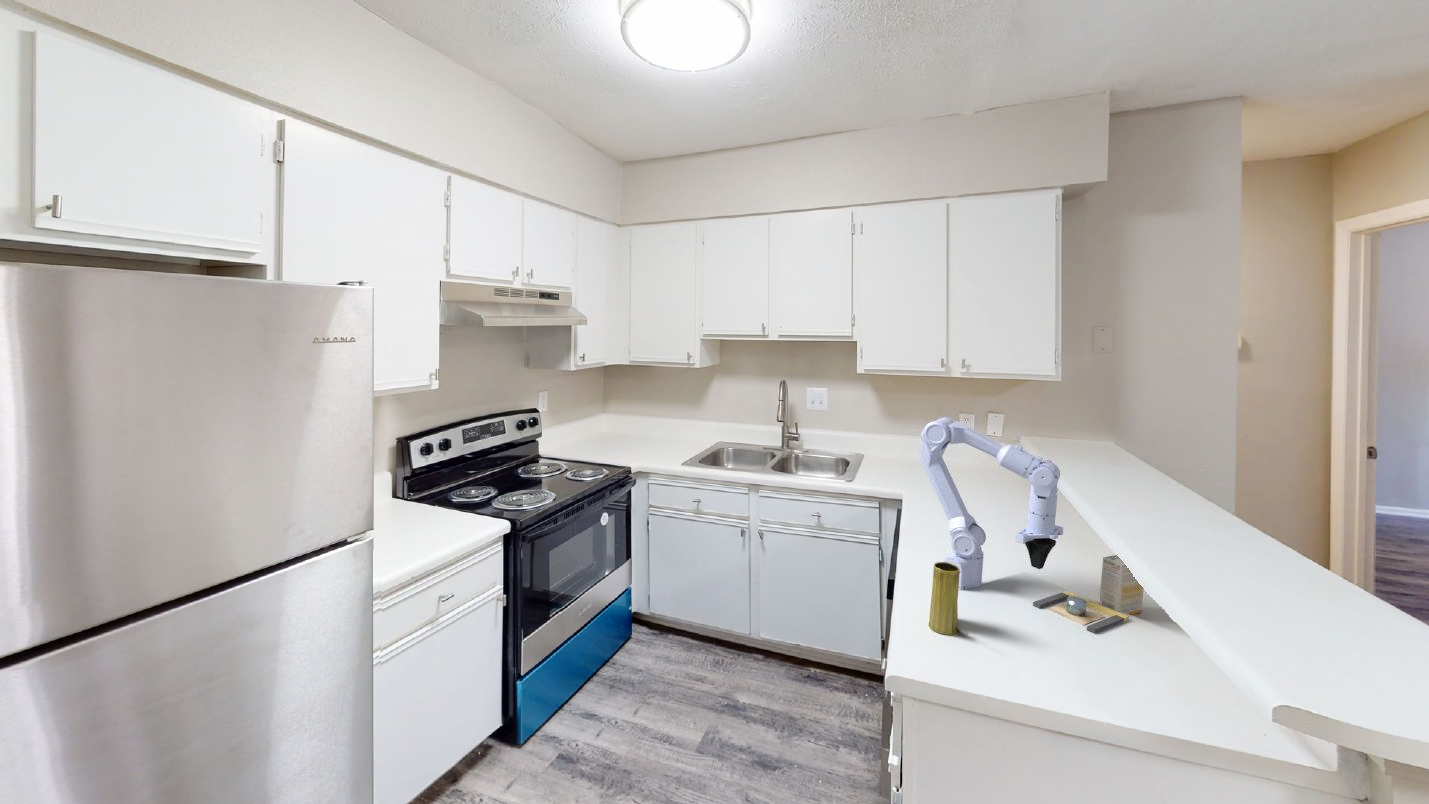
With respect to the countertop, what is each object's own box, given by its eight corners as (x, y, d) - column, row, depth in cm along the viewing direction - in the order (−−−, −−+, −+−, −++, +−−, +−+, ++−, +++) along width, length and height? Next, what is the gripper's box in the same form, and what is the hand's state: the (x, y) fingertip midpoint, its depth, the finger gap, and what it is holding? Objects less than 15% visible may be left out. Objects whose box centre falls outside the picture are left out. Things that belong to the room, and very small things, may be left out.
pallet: (1082, 633, 124) (1083, 624, 123) (1047, 616, 131) (1047, 608, 131) (1103, 624, 127) (1104, 616, 127) (1068, 609, 134) (1068, 601, 134)
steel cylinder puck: (1079, 618, 126) (1080, 605, 126) (1062, 610, 130) (1063, 598, 129) (1089, 614, 128) (1090, 601, 128) (1072, 607, 131) (1073, 594, 131)
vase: (952, 638, 121) (956, 575, 119) (923, 628, 125) (927, 566, 123) (961, 627, 125) (965, 566, 123) (934, 618, 129) (937, 558, 127)
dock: (1093, 640, 120) (1094, 629, 120) (1032, 611, 133) (1033, 601, 132) (1127, 626, 126) (1128, 616, 126) (1065, 600, 138) (1066, 590, 138)
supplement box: (1121, 603, 137) (1126, 552, 135) (1142, 613, 132) (1147, 559, 131) (1096, 608, 134) (1102, 556, 132) (1117, 618, 130) (1122, 564, 128)
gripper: (1037, 521, 127) (1032, 579, 128) (1077, 513, 133) (1072, 568, 135) (1009, 512, 133) (1005, 567, 135) (1049, 504, 139) (1044, 557, 141)
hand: (1036, 567), depth 135 cm, fingers closed
